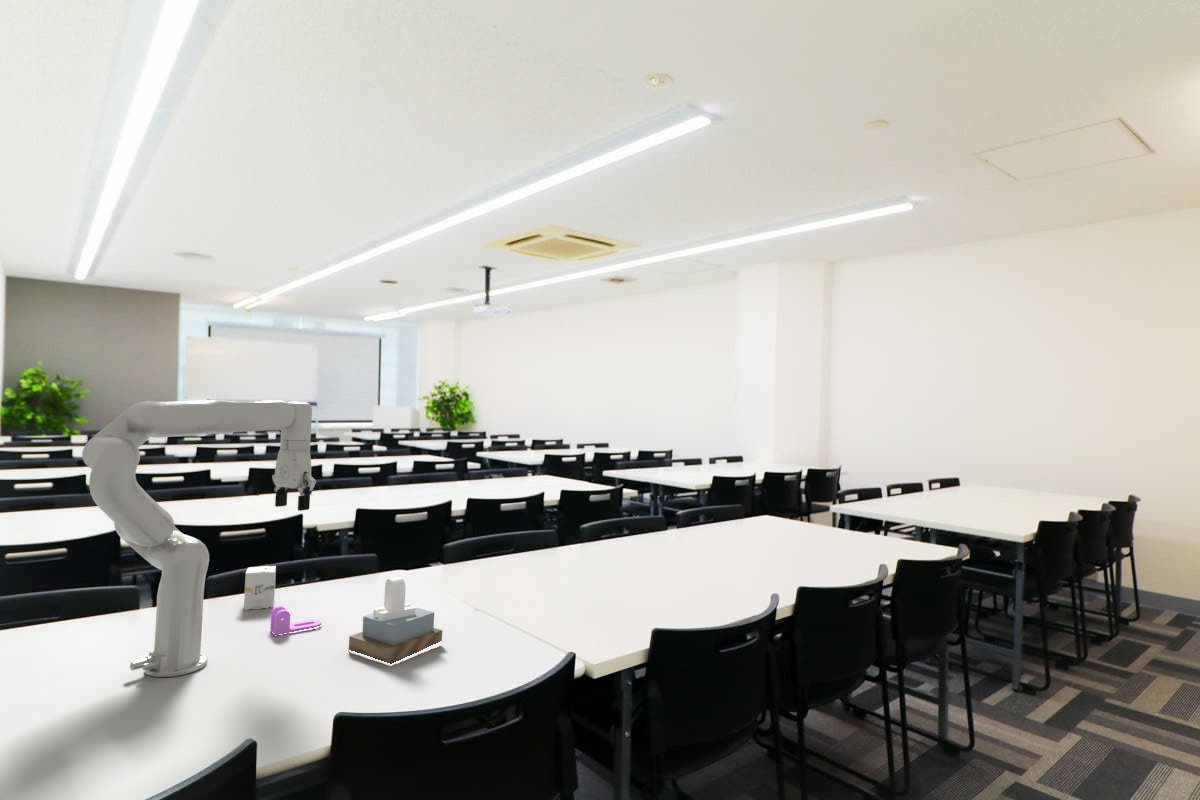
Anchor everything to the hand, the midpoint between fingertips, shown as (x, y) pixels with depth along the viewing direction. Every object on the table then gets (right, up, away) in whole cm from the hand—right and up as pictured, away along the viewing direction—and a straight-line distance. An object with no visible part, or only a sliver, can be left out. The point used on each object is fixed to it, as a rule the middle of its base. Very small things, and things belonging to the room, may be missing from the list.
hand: (292, 508), depth 177 cm
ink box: (-24, -36, +27) cm, 51 cm away
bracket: (-2, -37, +8) cm, 38 cm away
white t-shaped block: (+30, -29, -4) cm, 41 cm away
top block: (+31, -33, -4) cm, 45 cm away
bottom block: (+30, -38, -4) cm, 49 cm away
